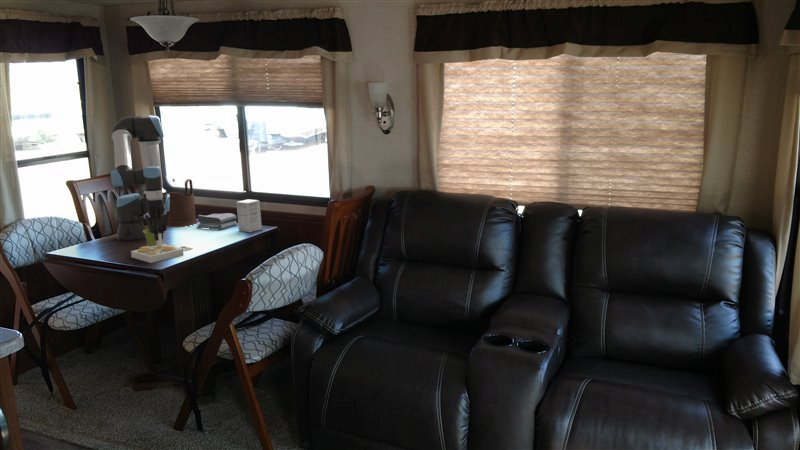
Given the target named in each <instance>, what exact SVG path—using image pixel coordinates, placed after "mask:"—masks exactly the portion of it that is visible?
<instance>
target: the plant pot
mask: <svg viewBox="0 0 800 450" xmlns="http://www.w3.org/2000/svg"><path fill="white" fill-rule="evenodd" d="M145 229H146V230H144V231H143V232H144V235H145V240H146V243H147V246H150V247H152V246H156V245H157V242H156V240H155V238H154V234H153V233H150V231H149V228H145ZM158 233H159V232H158Z"/></svg>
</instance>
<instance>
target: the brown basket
mask: <svg viewBox="0 0 800 450" xmlns="http://www.w3.org/2000/svg"><path fill="white" fill-rule="evenodd" d="M188 183H189V188H188ZM193 187H194V186H193V181H192V179H190V178H189V179H186V180H185V182H184V193H180V192H175V191H173V192H167V194H169V195H170V206H169V212H170V213H169V215H168V221H167V226H168V227H167V228H186V227H185V226H187V227H191V226H190V225H192V226H195V225H194V224H196V225H198V224H199V222H198V221H197V220H198V219H197V217H196V208H195V195H194V188H193ZM189 190H190V193H189ZM197 223H198V224H197Z"/></svg>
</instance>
